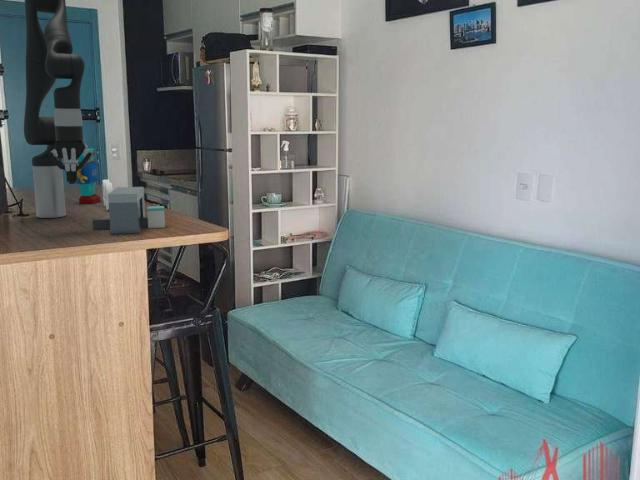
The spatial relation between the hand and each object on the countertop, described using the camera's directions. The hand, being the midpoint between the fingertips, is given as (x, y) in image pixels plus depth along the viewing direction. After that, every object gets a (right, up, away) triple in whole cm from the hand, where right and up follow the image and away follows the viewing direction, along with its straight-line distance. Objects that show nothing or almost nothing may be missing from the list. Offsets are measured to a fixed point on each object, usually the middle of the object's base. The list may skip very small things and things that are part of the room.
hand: (72, 183), depth 189 cm
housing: (+15, -13, +5) cm, 21 cm away
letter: (-5, -5, +47) cm, 48 cm away
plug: (+15, -13, +6) cm, 21 cm away
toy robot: (-18, -2, +62) cm, 65 cm away
